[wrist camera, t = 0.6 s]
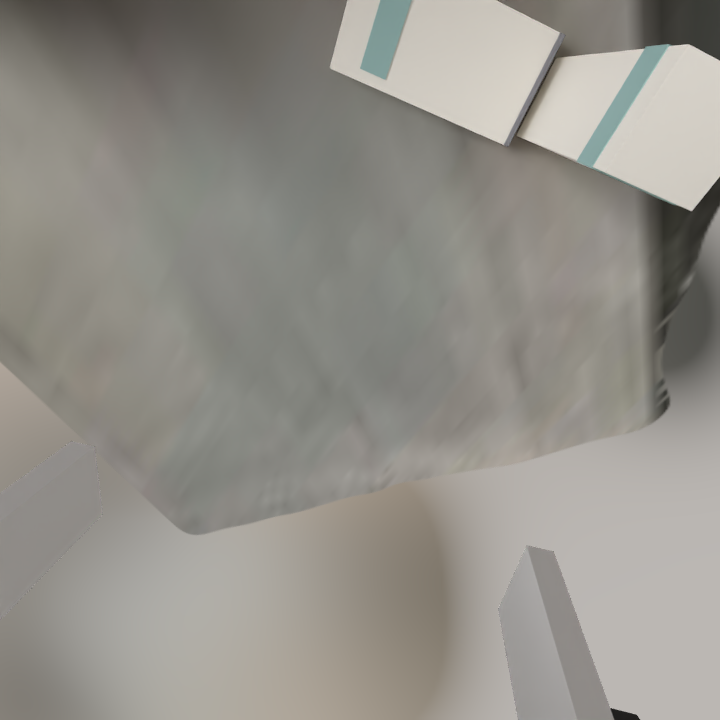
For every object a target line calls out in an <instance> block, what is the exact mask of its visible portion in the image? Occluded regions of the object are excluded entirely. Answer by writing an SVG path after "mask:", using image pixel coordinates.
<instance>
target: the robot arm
mask: <svg viewBox="0 0 720 720" xmlns="http://www.w3.org/2000/svg"><path fill="white" fill-rule="evenodd" d="M102 515H103V511H102V502H101V493H100V486H99V477H98V469H97V461H96V452H95V446H90V445H86V444H81V443H77V442H73V441H71V442H69V443H68V444H67V445H65V446H64V447H63V448H61V449H60V450H58V451H57V452H56V453H54V454H53V455H52V456H50V457H49V458H47V459H46V460H45V461H43V462H42V463H41V464H39V465H38V466H36V467H35V468H34V469H32V470H31V471H30V472H28V473H27V474H25V475H24V476H23V477H21V478H20V479H19V480H17V481H16V482H14V483H13V484H12V485H10V486H9V487H8V488H6V489H5V490H4V491H2V492H1V493H0V620H1V619H2V618H3V617H4V616H5V615H6V614H7V613H8V612H9V611H10V610H11V608H13V606H14V605H15V604H16V603H17V602H18V601H19V600H20V599H21V598H22V597H23V596H24V595H25V594H26V593H27V592H28V591H29V590H30V589H31V588H32V587H33V586H34V584H36V583H37V582H38V581H39V580H40V579H41V578H42V577H43V576H44V575H45V574H46V572H48V570H49V569H50V568H51V567H52V566H53V565H54V564H55V563H56V562H57V561H58V560H59V559H60V558H61V557H62V556H63V555H64V554H65V553H66V552H67V551H68V550H69V549H70V548H71V547H72V546H73V545H74V544H75V543H76V541H78V540H79V539H80V538H81V536H82V535H83V534H84V533H85V532H86V531H87V530H88V529H89V528H90V527H91V526H92V525H93V524H94V523H95V522H96V521H97V520H98V519H99V518H100V517H101V516H102ZM498 611H499V617H500V622H501V627H502V633H503V639H504V645H505V650H506V656H507V661H508V666H509V672H510V678H511V682H512V683H511V684H512V689H513V694H514V700H515V705H516V711H517V717H518V720H640V719H639V718H638V716H637V715H635V714H632V713H627V712H623V711H619V710H615V709H612V708H610V707H609V704H608V701H607V698H606V695H605V693H604V690H603V687H602V684H601V682H600V679H599V676H598V673H597V671H596V668H595V665H594V662H593V659H592V657H591V654H590V651H589V648H588V646H587V643H586V640H585V637H584V634H583V632H582V629H581V626H580V623H579V620H578V618H577V615H576V612H575V610H574V607H573V604H572V601H571V598H570V595H569V593H568V590H567V587H566V584H565V582H564V579H563V576H562V573H561V570H560V568H559V565H558V562H557V559H556V556H555V554H554V552H553V551H549V550H545V549H540V548H536V547H532V546H526V549H525V550H524V553H523V555H522V557H521V559H520V561H519V564H518V566H517V568H516V570H515V572H514V575H513V577H512V579H511V581H510V584H509V586H508V588H507V590H506V593H505V595H504V597H503V599H502V601H501V604H500V606H499V608H498Z"/></svg>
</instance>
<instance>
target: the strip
mask: <svg viewBox="0 0 720 720" xmlns="http://www.w3.org/2000/svg"><path fill="white" fill-rule="evenodd" d="M564 37H565V34H563V33H560V32H558V31H556V30H554V29H552V28H550V27H548V26H546V25H544V24H542V23H540V22H538V21H536V20H534V19H532V18H530V17H528V16H526V15H524V14H522V13H520V12H518V11H516V10H514V9H512V8H510V7H508V6H506V5H504V4H503V3H501V2H499V1H497V0H347V4H346V8H345V11H344V15H343V19H342V23H341V27H340V30H339V34H338V38H337V42H336V46H335V49H334V53H333V57H332V61H331V65H330V69H332V70H335V71H337V72H339V73H341V74H344V75H346V76H348V77H351V78H353V79H355V80H357V81H360V82H362V83H364V84H366V85H369V86H371V87H373V88H376V89H378V90H380V91H382V92H385V93H387V94H389V95H391V96H394V97H396V98H398V99H400V100H403V101H405V102H407V103H410V104H412V105H414V106H416V107H419V108H421V109H423V110H425V111H428V112H430V113H432V114H434V115H437V116H439V117H441V118H444V119H446V120H448V121H450V122H453V123H455V124H457V125H459V126H462V127H464V128H466V129H468V130H471V131H473V132H475V133H478V134H480V135H482V136H484V137H487V138H489V139H491V140H493V141H496V142H498V143H500V144H503V145H505V146H507V147H508V146H509V144H510V142H511V140H512V138H513V137H514V135H515V133H516V131H517V129H518V127H519V125H520V123H521V121H522V119H523V117H524V115H525V113H526V111H527V109H528V107H529V105H530V103H531V101H532V99H533V97H534V96H535V94H536V92H537V90H538V88H539V86H540V84H541V82H542V80H543V78H544V76H545V74H546V72H547V70H548V68H549V66H550V64H551V62H552V60H553V58H554V56H555V55H556V53H557V51H558V49H559V47H560V45H561V43H562V41H563V39H564Z"/></svg>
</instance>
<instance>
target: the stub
mask: <svg viewBox="0 0 720 720" xmlns="http://www.w3.org/2000/svg"><path fill="white" fill-rule="evenodd" d="M516 136H518V137H520V138H523V139H525V140H527V141H529V142H532V143H534V144H536V145H538V146H540V147H543V148H545V149H547V150H549V151H552V152H554V153H556V154H558V155H561V156H563V157H565V158H567V159H569V160H572V161H574V162H576V163H579V164H581V165H583V166H586V167H588V168H591V169H593V170H595V171H598V172H600V173H602V174H605V175H607V176H609V177H612V178H614V179H616V180H618V181H620V182H623V183H625V184H627V185H629V186H632V187H634V188H636V189H638V190H640V191H643V192H645V193H647V194H649V195H652V196H654V197H656V198H658V199H661V200H663V201H666V202H668V203H670V204H673V205H678V206H681V207H683V208H685V209H688V210H690V211H692V210H693V209H694V208H695V207H696V205H697V204H698V203H699V202H700V200H701V199H702V198H703V197H704V196H705V194H706V193H707V192H708V191H709V189H710V188H711V187H712V186H713V184H714V183H715V182H716V181H717V179H718V178H719V177H720V61H719V60H717V59H715V58H714V57H712V56H710V55H708V54H706V53H704V52H702V51H701V50H699V49H697V48H695V47H693V46H691V45H689V44H686V45H676V46H671V45H670V44H666V45H657V46H648V47H645V49H638V50H628V51H618V52H609V53H599V54H590V55H580V56H570V57H561V58H556V59H555V61H554V63H553V65H552V67H551V69H550V71H549V73H548V74H547V76H546V78H545V80H544V82H543V84H542V86H541V88H540V90H539V92H538V94H537V96H536V98H535V100H534V102H533V104H532V106H531V108H530V109H529V111H528V113H527V115H526V117H525V119H524V121H523V123H522V125H521V127H520V129H519V131H518V133H517V135H516Z"/></svg>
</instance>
